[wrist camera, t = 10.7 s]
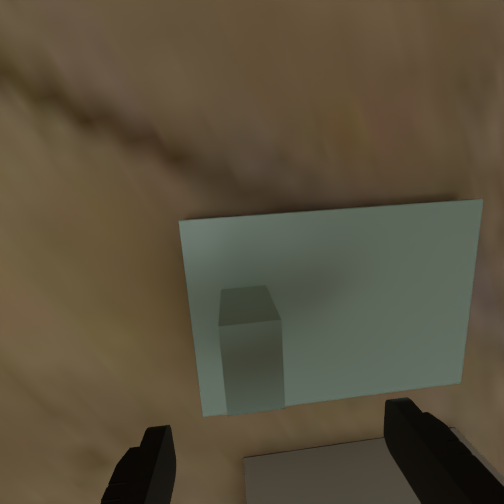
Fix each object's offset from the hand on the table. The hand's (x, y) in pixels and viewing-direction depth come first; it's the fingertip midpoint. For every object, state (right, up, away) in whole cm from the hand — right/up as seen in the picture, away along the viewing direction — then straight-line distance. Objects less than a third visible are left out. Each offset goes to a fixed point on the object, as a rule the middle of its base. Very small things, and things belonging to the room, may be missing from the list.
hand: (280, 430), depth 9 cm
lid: (+5, +3, +11) cm, 12 cm away
